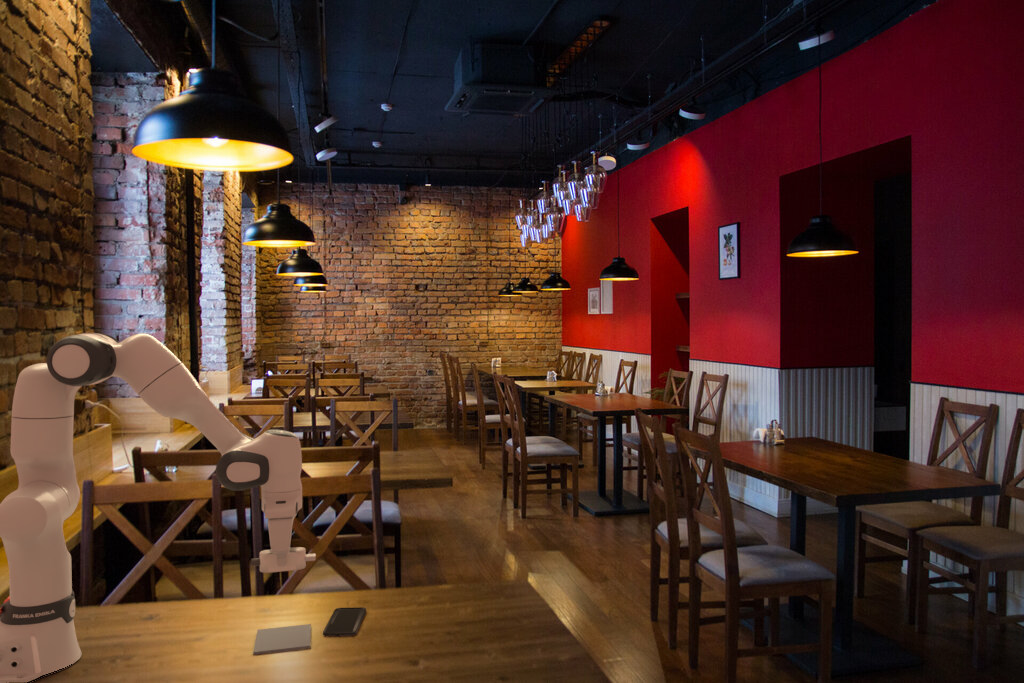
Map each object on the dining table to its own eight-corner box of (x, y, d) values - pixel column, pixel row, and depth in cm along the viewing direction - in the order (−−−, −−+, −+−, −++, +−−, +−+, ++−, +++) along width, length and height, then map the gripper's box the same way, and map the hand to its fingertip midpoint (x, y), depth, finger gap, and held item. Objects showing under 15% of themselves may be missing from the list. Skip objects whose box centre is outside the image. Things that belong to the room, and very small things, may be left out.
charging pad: (253, 654, 156) (253, 652, 156) (257, 632, 168) (257, 629, 167) (310, 648, 159) (310, 645, 159) (310, 626, 171) (310, 623, 171)
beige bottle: (250, 574, 159) (250, 556, 159) (252, 568, 163) (251, 550, 163) (315, 568, 163) (315, 550, 163) (315, 562, 167) (315, 545, 167)
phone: (366, 607, 180) (355, 632, 165) (366, 611, 180) (355, 637, 165) (335, 607, 180) (321, 633, 165) (335, 612, 180) (321, 638, 165)
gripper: (270, 491, 172) (270, 548, 172) (264, 513, 152) (264, 577, 152) (297, 490, 173) (298, 546, 174) (295, 511, 154) (295, 575, 154)
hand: (282, 561), depth 163 cm, fingers closed on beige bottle, 4 cm apart
